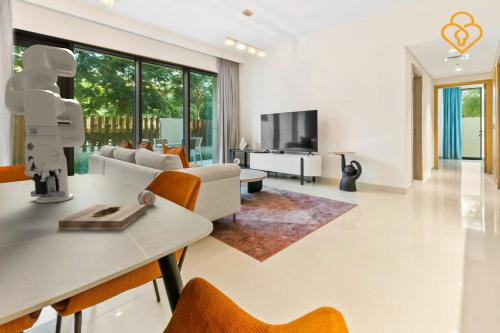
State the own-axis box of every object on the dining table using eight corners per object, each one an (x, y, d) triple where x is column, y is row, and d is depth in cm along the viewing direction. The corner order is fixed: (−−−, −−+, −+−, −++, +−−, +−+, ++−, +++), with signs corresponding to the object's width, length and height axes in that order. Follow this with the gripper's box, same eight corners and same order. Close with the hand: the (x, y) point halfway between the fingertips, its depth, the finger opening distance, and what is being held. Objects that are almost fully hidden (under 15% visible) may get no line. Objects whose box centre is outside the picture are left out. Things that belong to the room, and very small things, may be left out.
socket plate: (58, 229, 73) (58, 220, 73) (96, 211, 91) (95, 204, 91) (122, 229, 73) (121, 220, 73) (146, 211, 91) (146, 204, 91)
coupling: (28, 197, 77) (26, 177, 76) (38, 194, 81) (37, 175, 80) (58, 198, 77) (56, 178, 76) (67, 194, 81) (66, 176, 80)
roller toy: (136, 206, 99) (135, 191, 98) (152, 203, 103) (151, 188, 102) (141, 208, 96) (140, 193, 95) (157, 205, 100) (156, 190, 99)
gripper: (31, 133, 68) (38, 200, 70) (74, 132, 84) (78, 186, 87) (3, 132, 68) (10, 199, 70) (51, 131, 84) (55, 186, 87)
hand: (48, 191), depth 79 cm, fingers closed on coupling, 4 cm apart
